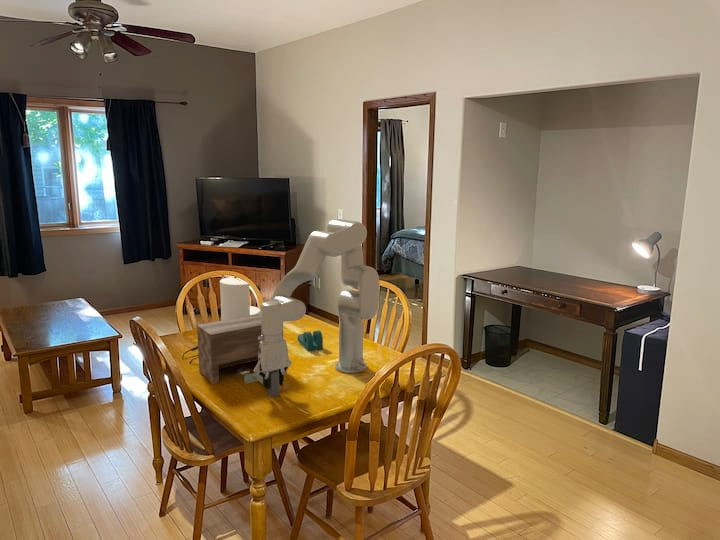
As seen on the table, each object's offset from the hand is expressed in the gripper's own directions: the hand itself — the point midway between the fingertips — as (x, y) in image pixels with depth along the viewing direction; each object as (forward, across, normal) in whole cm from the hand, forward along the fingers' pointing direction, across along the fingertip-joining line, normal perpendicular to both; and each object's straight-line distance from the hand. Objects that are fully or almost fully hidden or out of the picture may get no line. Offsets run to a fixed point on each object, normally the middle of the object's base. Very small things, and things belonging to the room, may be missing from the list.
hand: (273, 385), depth 190 cm
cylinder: (+4, +15, +60) cm, 62 cm away
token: (+4, 0, +25) cm, 25 cm away
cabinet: (+3, 0, +28) cm, 28 cm away
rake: (+3, 0, +7) cm, 8 cm away
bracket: (+4, +37, +38) cm, 53 cm away
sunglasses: (+4, -9, +50) cm, 51 cm away
